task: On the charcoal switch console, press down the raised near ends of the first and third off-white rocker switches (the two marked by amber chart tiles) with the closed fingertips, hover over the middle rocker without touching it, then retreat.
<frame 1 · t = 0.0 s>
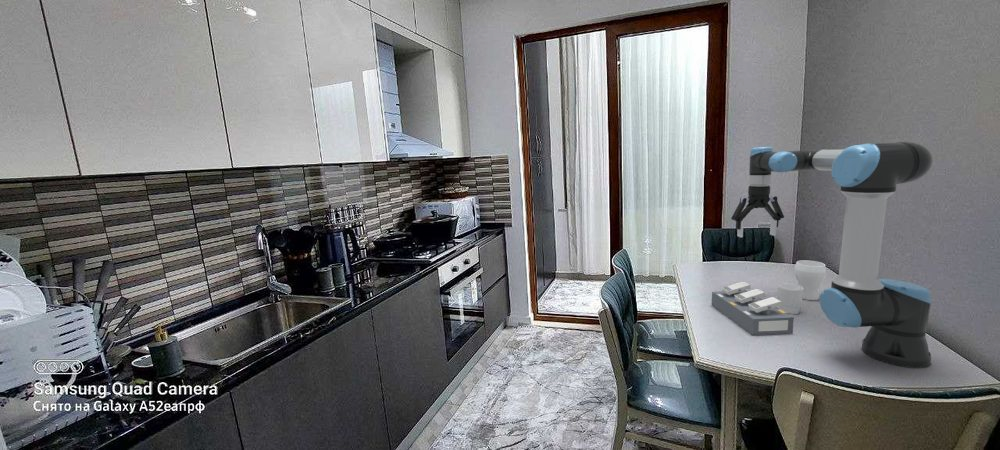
hand: (756, 236, 166), 28 cm above the table, fingers open, 13 cm apart
white cup: (788, 311, 158), on the table
rocker 3: (736, 287, 160), point 9 cm above the table, hinge at -15.0°
console: (748, 318, 153), on the table
cup: (807, 297, 170), on the table
rocker 1: (764, 304, 143), point 9 cm above the table, hinge at -15.0°
rocker 2: (749, 295, 152), point 9 cm above the table, hinge at -15.0°
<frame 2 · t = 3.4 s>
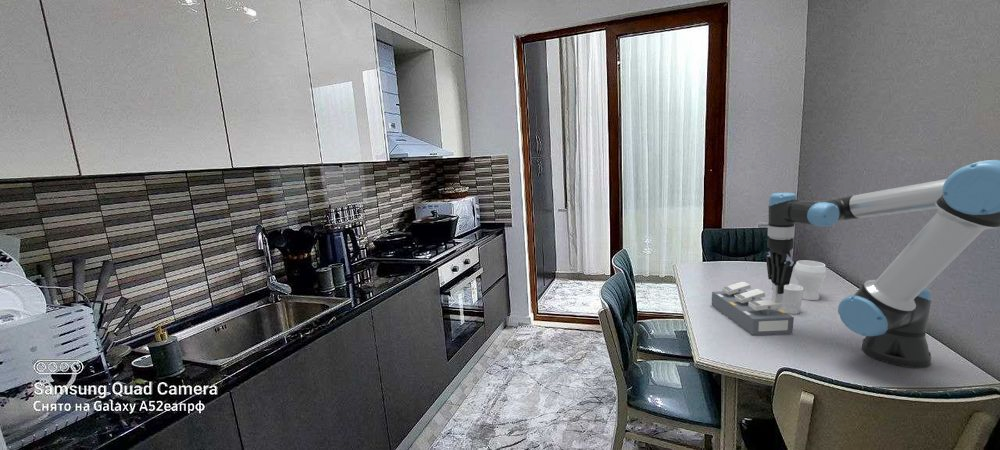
hand: (777, 301, 143), 10 cm above the table, fingers closed
rocker 1: (764, 304, 143), point 9 cm above the table, hinge at -3.0°, touching gripper
everything else where it was.
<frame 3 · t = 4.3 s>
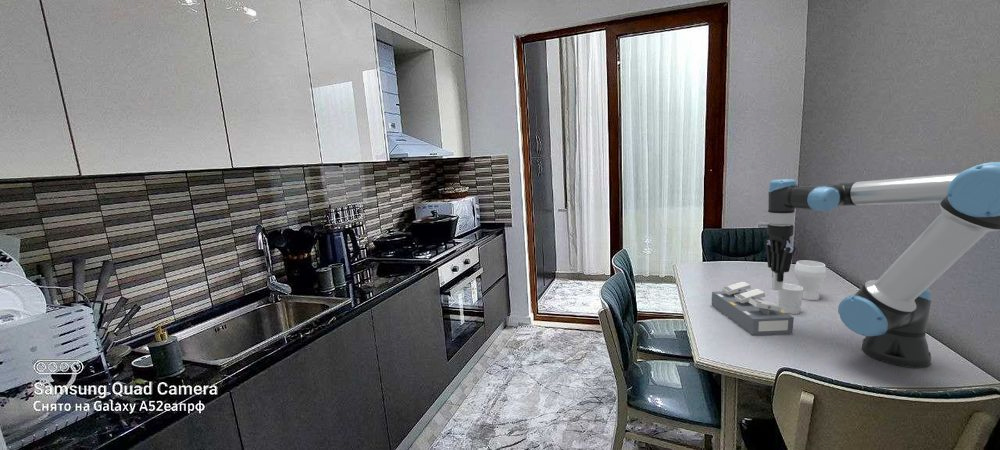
hand: (777, 289, 141), 15 cm above the table, fingers closed
rocker 1: (764, 304, 143), point 9 cm above the table, hinge at 14.0°
everything else where it was.
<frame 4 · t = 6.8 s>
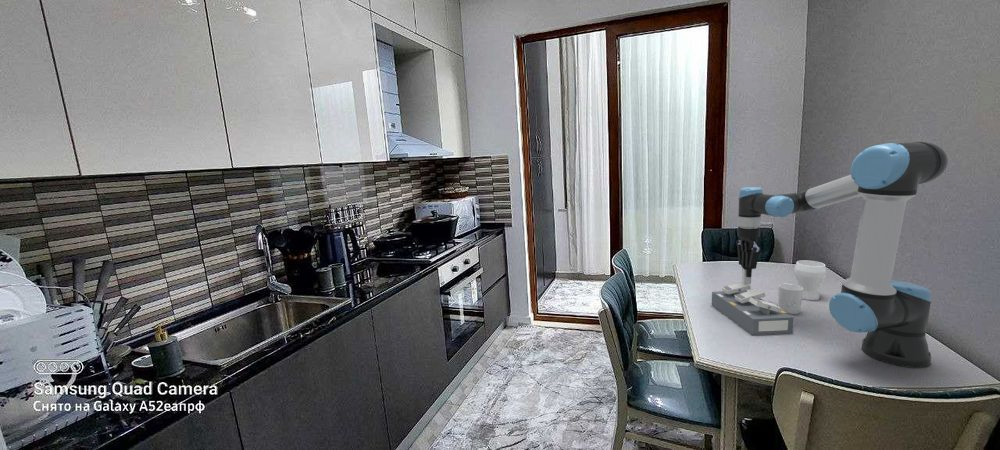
hand: (746, 283, 160), 11 cm above the table, fingers closed
rocker 3: (736, 287, 160), point 9 cm above the table, hinge at -11.3°, touching gripper
rocker 1: (764, 304, 143), point 9 cm above the table, hinge at 19.5°
everything else where it was.
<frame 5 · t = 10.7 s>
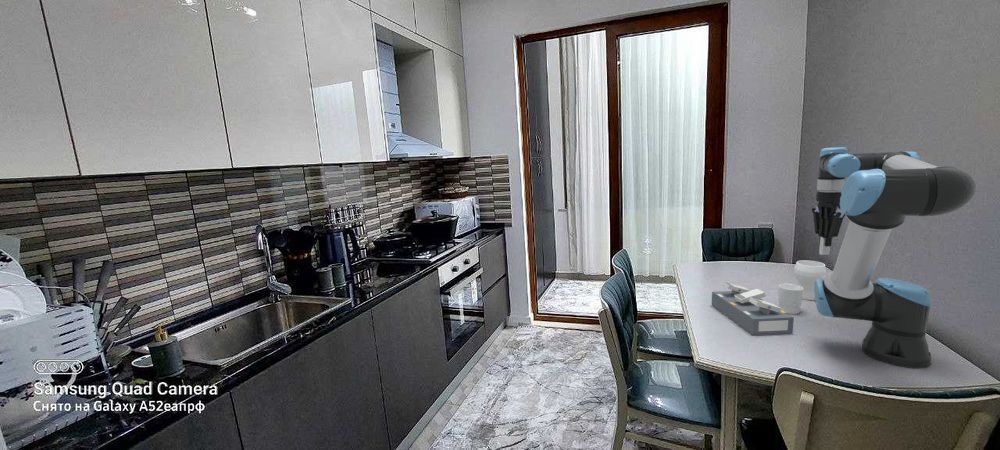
hand: (824, 254, 147), 24 cm above the table, fingers closed
rocker 3: (736, 287, 160), point 9 cm above the table, hinge at 17.7°
everything else where it was.
at the end: rocker 1 at +20° (first picture: -15°); rocker 3 at +18° (first picture: -15°); rocker 2 at -15° (first picture: -15°) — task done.
